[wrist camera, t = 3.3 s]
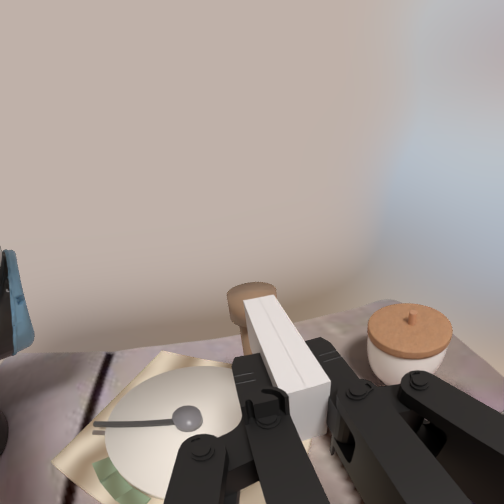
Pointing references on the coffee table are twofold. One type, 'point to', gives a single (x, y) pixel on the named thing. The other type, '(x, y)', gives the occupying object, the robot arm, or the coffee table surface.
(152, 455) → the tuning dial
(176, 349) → the coffee table surface
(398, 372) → the lidded jar
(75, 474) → the beige flat board
